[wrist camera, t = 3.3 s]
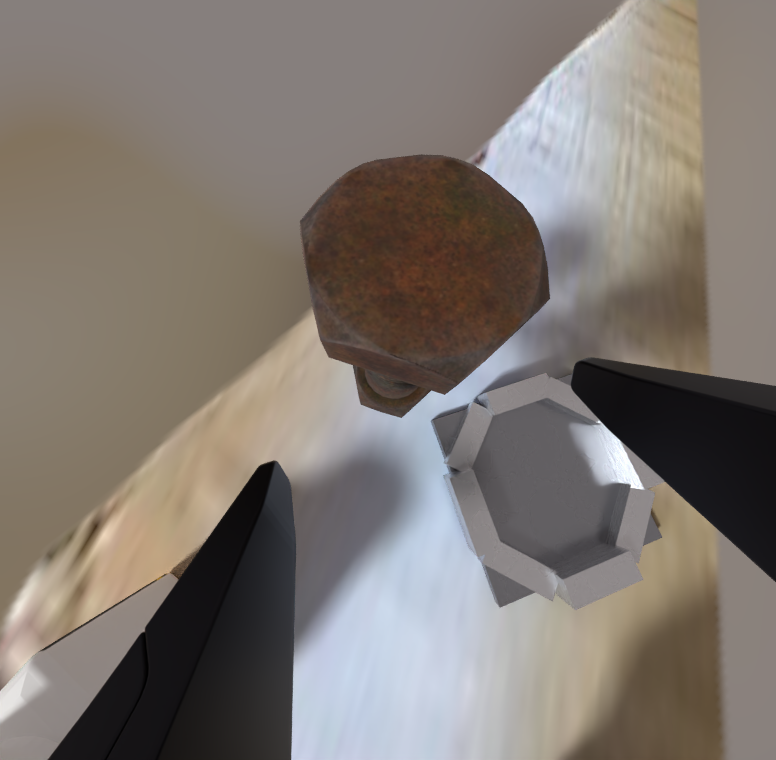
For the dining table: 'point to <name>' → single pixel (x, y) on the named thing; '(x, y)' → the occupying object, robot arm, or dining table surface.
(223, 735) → the robot arm
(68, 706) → the medicine bottle
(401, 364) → the bolt
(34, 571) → the dining table surface
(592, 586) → the ring collar
